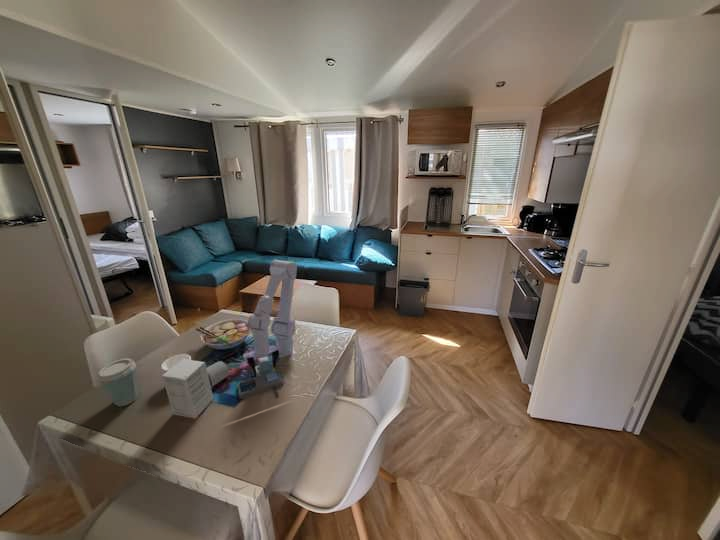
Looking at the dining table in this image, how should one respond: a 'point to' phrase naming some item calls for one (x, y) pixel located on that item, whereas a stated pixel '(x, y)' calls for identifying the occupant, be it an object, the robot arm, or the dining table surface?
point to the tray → (266, 373)
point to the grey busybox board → (262, 384)
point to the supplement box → (188, 388)
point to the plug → (264, 365)
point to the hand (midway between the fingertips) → (264, 369)
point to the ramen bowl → (225, 333)
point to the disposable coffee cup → (120, 381)
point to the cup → (173, 362)
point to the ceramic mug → (217, 372)
